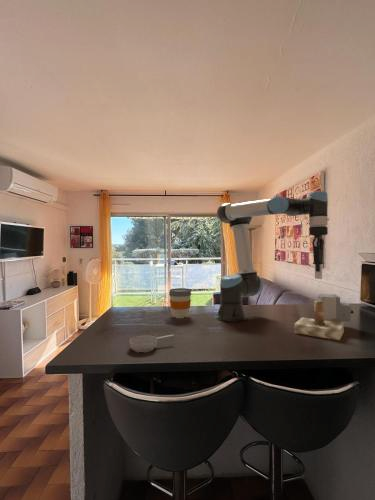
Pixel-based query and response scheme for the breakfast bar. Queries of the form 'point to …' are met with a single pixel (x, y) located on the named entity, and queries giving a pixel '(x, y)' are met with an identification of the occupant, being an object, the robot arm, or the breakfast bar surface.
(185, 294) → the reusable coffee cup
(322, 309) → the peg
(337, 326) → the board
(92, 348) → the breakfast bar surface
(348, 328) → the breakfast bar surface
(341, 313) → the circuit breaker
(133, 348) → the saucepan
